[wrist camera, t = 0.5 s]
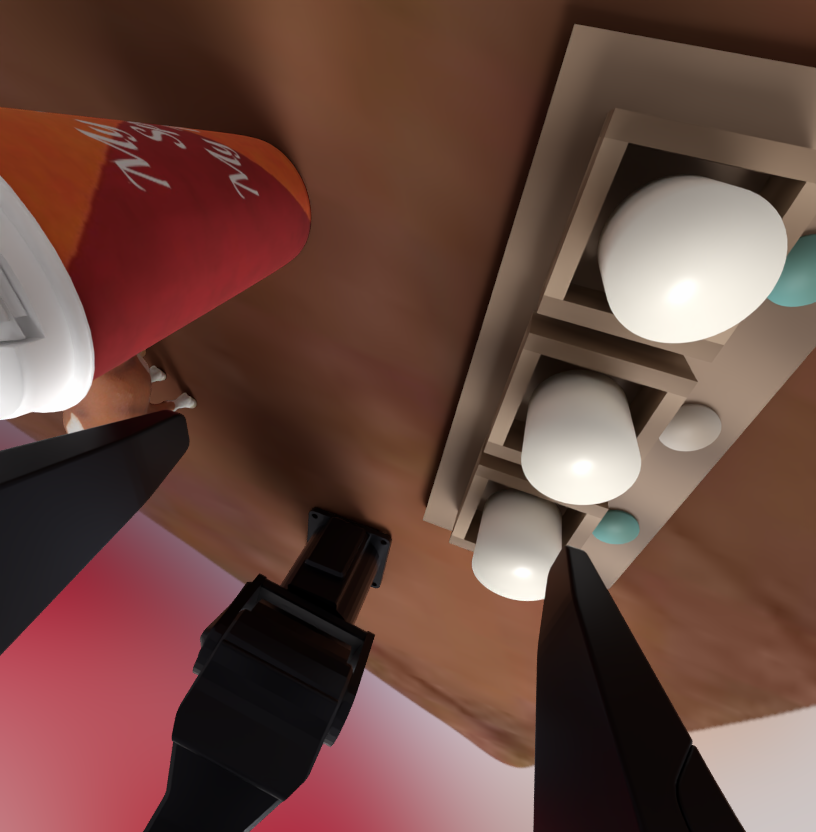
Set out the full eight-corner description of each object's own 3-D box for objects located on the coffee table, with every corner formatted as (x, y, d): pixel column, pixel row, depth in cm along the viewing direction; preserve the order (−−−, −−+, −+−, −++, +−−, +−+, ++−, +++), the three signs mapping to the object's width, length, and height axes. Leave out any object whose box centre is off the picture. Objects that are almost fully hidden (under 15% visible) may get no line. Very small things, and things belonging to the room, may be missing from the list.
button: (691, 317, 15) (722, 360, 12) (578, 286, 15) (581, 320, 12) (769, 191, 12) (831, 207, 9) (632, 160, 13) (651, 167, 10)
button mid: (602, 460, 19) (608, 518, 16) (515, 432, 19) (507, 483, 17) (647, 387, 16) (665, 439, 14) (547, 357, 17) (543, 401, 14)
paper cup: (316, 98, 17) (-155, 26, 6) (343, 288, 21) (97, 456, 10) (164, 115, 19) (-386, 86, 8) (216, 284, 23) (-100, 418, 12)
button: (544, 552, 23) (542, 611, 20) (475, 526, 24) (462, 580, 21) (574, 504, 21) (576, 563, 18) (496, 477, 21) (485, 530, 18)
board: (607, 575, 26) (612, 627, 23) (426, 509, 28) (411, 550, 25) (990, 107, 12) (1118, 98, 9) (574, 30, 14) (575, 3, 11)
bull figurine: (147, 417, 32) (40, 489, 25) (137, 247, 24) (-25, 289, 17) (197, 443, 32) (103, 522, 25) (204, 281, 24) (67, 336, 17)
